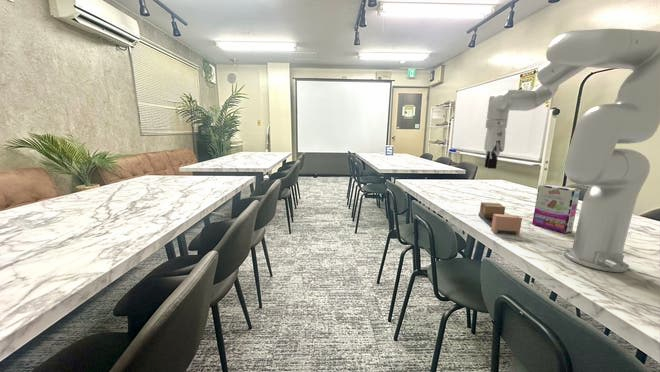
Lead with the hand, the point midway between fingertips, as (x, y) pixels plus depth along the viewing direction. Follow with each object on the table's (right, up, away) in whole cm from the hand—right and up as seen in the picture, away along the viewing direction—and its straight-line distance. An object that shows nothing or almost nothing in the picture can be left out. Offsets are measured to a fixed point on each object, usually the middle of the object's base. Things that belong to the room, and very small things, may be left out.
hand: (490, 167), depth 111 cm
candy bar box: (+16, -25, -12) cm, 32 cm away
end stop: (-6, -25, -18) cm, 32 cm away
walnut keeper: (-2, -21, -5) cm, 21 cm away
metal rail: (-4, -23, -9) cm, 25 cm away
